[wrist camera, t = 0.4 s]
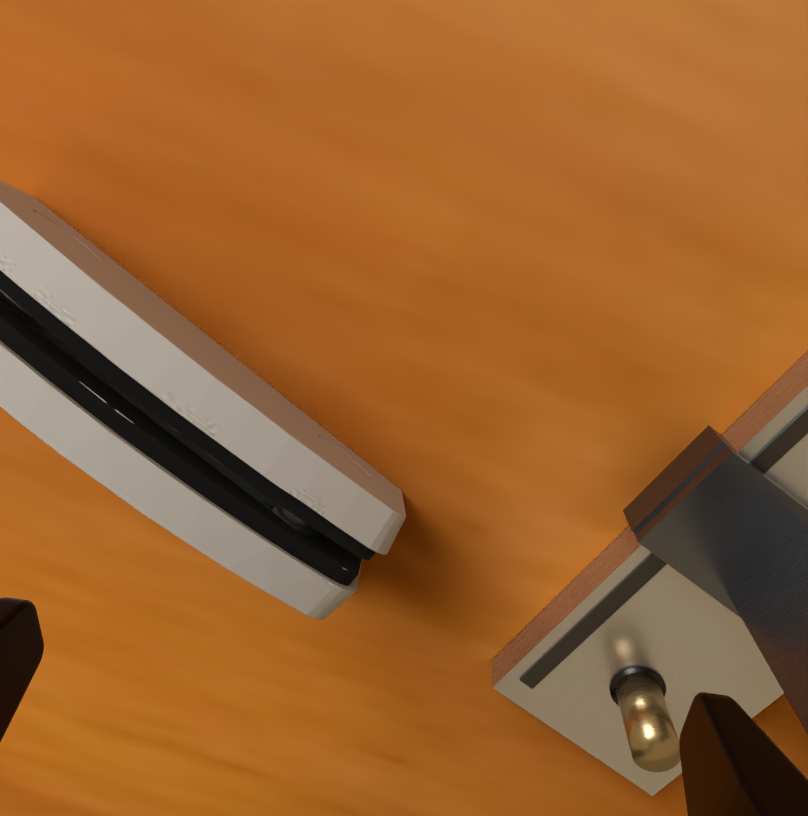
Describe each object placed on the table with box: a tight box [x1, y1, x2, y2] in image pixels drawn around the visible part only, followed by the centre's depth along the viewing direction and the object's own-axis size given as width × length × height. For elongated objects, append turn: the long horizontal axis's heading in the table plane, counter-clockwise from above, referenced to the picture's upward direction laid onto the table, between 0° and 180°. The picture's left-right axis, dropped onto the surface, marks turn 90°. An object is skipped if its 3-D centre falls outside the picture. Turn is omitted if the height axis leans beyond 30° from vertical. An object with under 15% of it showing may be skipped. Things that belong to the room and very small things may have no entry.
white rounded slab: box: [0, 181, 406, 619], centre depth 21 cm, size 17×5×10 cm, turn 50°
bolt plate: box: [492, 352, 808, 796], centre depth 23 cm, size 21×8×4 cm, turn 144°
